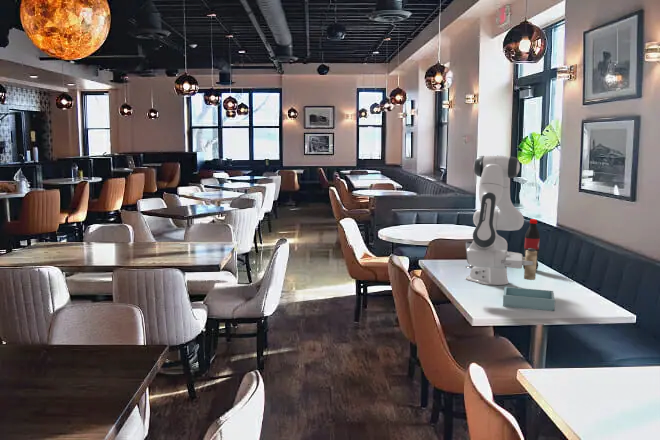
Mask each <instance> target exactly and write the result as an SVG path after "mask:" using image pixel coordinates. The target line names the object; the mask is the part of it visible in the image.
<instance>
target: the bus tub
mask: <svg viewBox="0 0 660 440" xmlns="http://www.w3.org/2000/svg"><path fill="white" fill-rule="evenodd" d="M502 299H503V300H502V307H508V308H509V307H510V308H517V309H529V310H530V309H531V310H538V311H539V310H540V311H551V312H555V306H556V305H555V304H556V299H555V293H554V290H546V289H545V290H544V289H535V288H534V289H533V288H522V287H512V286H504V288H503V298H502Z"/></svg>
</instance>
